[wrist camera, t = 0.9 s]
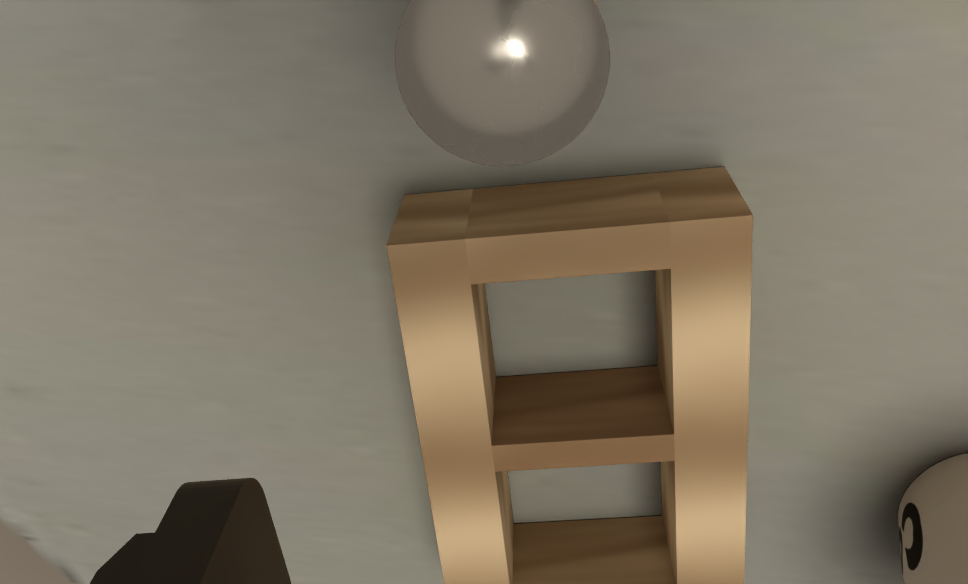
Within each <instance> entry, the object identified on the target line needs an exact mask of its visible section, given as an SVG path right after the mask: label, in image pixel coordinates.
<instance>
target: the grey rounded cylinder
mask: <svg viewBox="0 0 968 584" xmlns="http://www.w3.org/2000/svg"><path fill="white" fill-rule="evenodd" d="M395 66H396V76H397V80H398V85H399V89H400V92H401V94H402V97H403V100H404V102H405V104H406V106H407V108H408V110H409V112H410V114H411V115H412V117H413V118H414V120H415V121H416V123H417V124H418V125H419V126H420V128H421V129H422V130H423V131H424V132H425V133H426V134H427V135H428V136H429V137H430V138H431V139H432V140H433V141H434V142H436V143H437V144H438V145H440V146H441V147H442V148H444V149H445V150H447V151H448V152H450V153H452V154H454V155H456V156H458V157H460V158H463V159H466V160H469V161H471V162H475V163H479V164H484V165H492V166H514V165H521V164H526V163H530V162H533V161H537V160H540V159H542V158H544V157H547V156H549V155H551V154H553V153H555V152H556V151H558V150H560V149H561V148H563V147H564V146H565V145H567V144H568V143H569V142H571V141H572V140H573V139H574V138H575V137H576V136H577V135H578V134H579V133H580V132H581V131H582V130H583V129H584V128H585V126H586V125H587V124H588V123H589V121H590V120H591V119H592V117H593V115H594V113H595V112H596V110H597V108H598V106H599V104H600V102H601V99H602V97H603V95H604V91H605V88H606V84H607V81H608V74H609V67H610V50H609V41H608V36H607V32H606V28H605V24H604V22H603V19H602V17H601V14H600V11H599V9H598V6H597V4H596V1H595V0H412V1H411V2H410V4H409V5H408V7H407V9H406V12H405V14H404V16H403V18H402V21H401V24H400V27H399V31H398V35H397V41H396V49H395Z"/></svg>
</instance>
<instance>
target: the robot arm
mask: <svg viewBox="0 0 968 584" xmlns="http://www.w3.org/2000/svg"><path fill="white" fill-rule="evenodd" d="M90 584H291V581H290V577H289V574H288V570H287V567H286V564H285V560H284V557H283V554H282V550H281V547H280V544H279V540H278V537H277V534H276V530H275V527H274V524H273V521H272V517H271V514H270V511H269V507H268V504H267V501H266V497H265V494H264V491H263V489H262V487H261V485H260V483H259V482H258V481H257V480H256V479H254V478H242V479H228V480H214V481H200V482H188V483H185V484H183V485H182V486H181V487H180V488H179V489H178V490H177V492H176V494H175V496H174V497H173V499H172V501H171V503H170V505H169V507H168V509H167V511H166V513H165V515H164V517H163V519H162V521H161V522H160V524H159V526H158V528H157V530H156V532H155V533H143V534H136V535H134V536H133V537H132V538H131V539H130V540H129V541H128V542H127V543H126V544H125V545H124V546H123V547H122V548H121V549H120V550H119V551H118V552H117V553H116V554H114V555H113V556H112V557H111V558H110V559H109V560H108V561H107V562H106V563H105V564H104V565H103V566H102V567H101V568H100V569H99V570H98V571H97V572H96V574H95V576H94V577H93V579H92V581H91V583H90Z"/></svg>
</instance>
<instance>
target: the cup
mask: <svg viewBox="0 0 968 584" xmlns="http://www.w3.org/2000/svg"><path fill="white" fill-rule="evenodd" d="M898 522H899V536H900V549H901V562H902V574H903V579H904V583H905V584H968V453H966V454H961V455H957V456H954V457H951V458H948V459H946V460H943V461H941V462H939V463H937V464H935V465H933V466H932V467H930V468H929V469H927V470H926V471H924V472H923V473H922V474H921V475H919V476H918V477H917V478H916V479H915V480H914V481H913V482H912V484H911V485H910V486H909V487H908V489H907V490H906V492H905V494H904V495H903V498H902V500H901V503H900V506H899V511H898Z"/></svg>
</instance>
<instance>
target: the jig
mask: <svg viewBox="0 0 968 584" xmlns="http://www.w3.org/2000/svg"><path fill="white" fill-rule="evenodd" d="M752 231H753V215H752V213H751V211H750V209H749V208H748V206H747V204H746V203H745V201H744V199H743V198H742V196H741V194H740V192H739V191H738V189H737V187H736V186H735V184H734V182H733V180H732V179H731V177H730V175H729V174H728V172H727V170H726V169H725V167H715V168H703V169H692V170H681V171H669V172H658V173H647V174H635V175H624V176H613V177H601V178H590V179H579V180H567V181H556V182H545V183H533V184H522V185H511V186H499V187H488V188H477V189H465V190H454V191H443V192H431V193H420V194H409V195H404V197H403V200H402V203H401V206H400V209H399V211H398V214H397V217H396V220H395V223H394V226H393V229H392V232H391V234H390V237H389V240H388V243H387V251H388V257H389V263H390V269H391V275H392V280H393V286H394V292H395V298H396V304H397V310H398V315H399V321H400V327H401V333H402V339H403V345H404V350H405V356H406V362H407V368H408V374H409V380H410V385H411V391H412V397H413V403H414V409H415V414H416V420H417V426H418V432H419V438H420V444H421V449H422V455H423V461H424V467H425V473H426V479H427V484H428V490H429V496H430V502H431V508H432V514H433V519H434V525H435V531H436V537H437V543H438V549H439V554H440V560H441V566H442V572H443V578H444V584H744V570H745V527H746V485H747V443H748V400H749V358H750V316H751V273H752ZM648 270H655V288H656V323H657V358H658V366H649V367H635V368H621V369H606V370H592V371H577V372H563V373H549V374H534V375H520V376H506V377H496V374H495V366H494V357H493V349H492V341H491V333H490V325H489V316H488V308H487V300H486V292H485V283H496V282H509V281H521V280H534V279H547V278H559V277H572V276H585V275H597V274H610V273H623V272H635V271H648ZM648 462H660V463H661V498H662V516H649V517H631V518H612V519H594V520H576V521H558V522H540V523H521V524H514V522H513V514H512V505H511V497H510V489H509V481H508V472H507V471H515V470H532V469H549V468H565V467H582V466H598V465H615V464H632V463H648Z"/></svg>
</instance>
